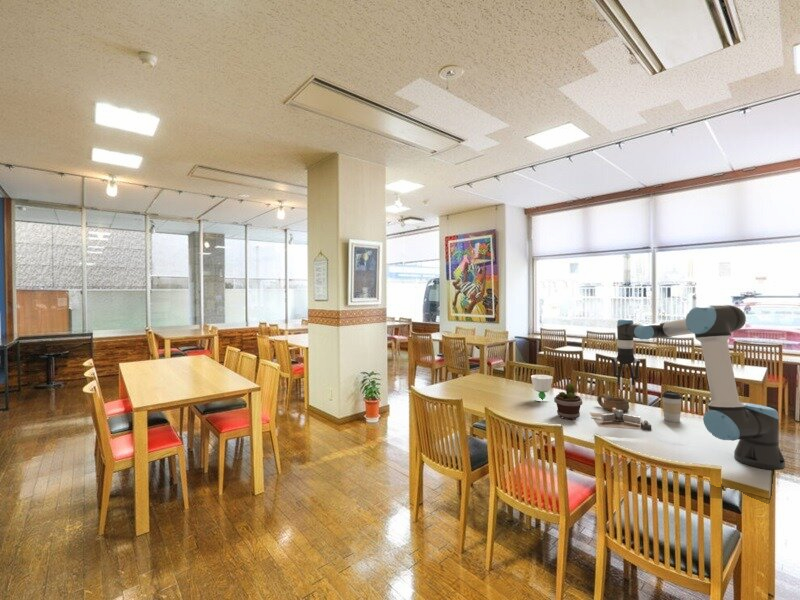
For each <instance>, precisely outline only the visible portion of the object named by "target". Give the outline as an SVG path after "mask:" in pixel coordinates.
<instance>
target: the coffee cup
mask: <svg viewBox="0 0 800 600" xmlns="http://www.w3.org/2000/svg"><path fill="white" fill-rule="evenodd" d="M661 399H662V400H661V403H662V412H663V419H664V420H665V421H668V422H673V423H679V422H681V414H682V412H681V411H682V399H683V397H682V395H680V393H678V392H675V391H671V390H667V391H664V392H663V393H661Z"/></svg>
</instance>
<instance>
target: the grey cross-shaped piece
mask: <svg viewBox="0 0 800 600" xmlns="http://www.w3.org/2000/svg"><path fill="white" fill-rule="evenodd" d="M641 420H642V417H641V416H639V415H637V416H633V414H628V413H624V412H623V410H619V409H616V408H612V411H611V413H610V412H609V413H606V414H601V421H603V422H605V421H616V422H623V421H627V422H632V423H637V424H641Z"/></svg>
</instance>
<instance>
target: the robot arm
mask: <svg viewBox="0 0 800 600" xmlns="http://www.w3.org/2000/svg"><path fill="white" fill-rule="evenodd" d="M616 322H617V325H616V331H617V332H616V333H617V347H618V348H617V356H616V357H612V358H611V362H612V367H613V376H614V377H616V378H617V384H619V391H622V390H623V377H621V375H622V372H623V368H624V366H625V365H626V366H628V369H629V372H630V373H629V374H630V379H629V382H630V383H629V390H630V392H633V386H634V385H635V384H636V383H635V380H636V379H639V376H640V375H639V371H640V365H639V364H640V363H641V360H640V359H638V358H637V359H636V358H635V355H634V354H635V352H634V350H635V349H634V347H635V345H634V339H639V340H650V339H663V338H664V339H666V338H667V339H668V338H672V337H676V336H683V335H690V334H691V335H693V334H694V337H695V338H694V339H695V340H696V341H699V342H700V344H701V351H702V356H703V361H704V362H703V363H704V368H705V371H706V372H705V373H706V378H707V382H708V389H709V394H710V398H711V400H710V401H709V402H708V403H707V408H708V411H705V413H704V414H703V416H702V419H703V420H702V421H703V424H704V426H705V429H706V430H707V431H708V432H709V433H710V434H711V435H712V436H713V437H715V438H716V439H718V440H722V441H733V442H734V441H737V440H738V442H737V445H736V447H735V449H734V451H733V452H734V453H733V454H734V455H733V457H734V459H735V460H737V461H738V462H740V463H741V464H744V465H747V466H751V467H755V468H758V469H762V470H763V469H764V470H769V471H780V470H784V469H786V460H785V458H784V456H783V453H782V451H781V449H780V448H781V447H780V445H779V443H780V440H779V439H780V436H779V435H780V433H779V432H780V428H779V426H780V425H779V423H780V422H779V421H780V418H779V412H778V411H777V409H775V408H772V407H769V406H765V405H763V404H762V405H761V404H757V403H751V402H750V403H749V402H741V401H740V400H739V399H740V398H739V394H738V393H739V392H738V387H737V384H736V379H735V373H734V370H733V368H734V367H733V365H732V359H731V358H732V357H731V352H730V348H729V342H728V341H729V340H730V339H731V337H732V334H731V333H733V332H736V331H739V330H741V329H742V328H744V325H746V322H747V317H746V313H745V312H744V311H743V310H742V309H740V308H739V307H737V306H735V305H731V304H722V305H721V304H714V305H712V304H711V305H709V304H706V305H697V306H694V307H693V308H691V309H690V310H689V312H688V313H686V317H685V318H682V319H677V320H671V321H666V322H661V323H641V324H640V323H634V320H633V319H629V318H628V319H627V318H624V319H618V320H617V321H616ZM617 361H618V362H619V369H617ZM633 362H634V363H635V374H634V369H633V366H632V365H633ZM617 370H618V373H617Z"/></svg>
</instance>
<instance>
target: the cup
mask: <svg viewBox="0 0 800 600" xmlns="http://www.w3.org/2000/svg"><path fill="white" fill-rule="evenodd" d="M530 378H531V382H532V384H531V385H532V387H533V390H534V391H536V392H538V395H537V396H538V397H539V398H541V399H542V400H543V399H546V396H547V395H546V393H548V392H549V391H550V390H551V389H552V383H553V379H554V377H553V376H551V375H550V374H548V375H547V374H532V375H530Z"/></svg>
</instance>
